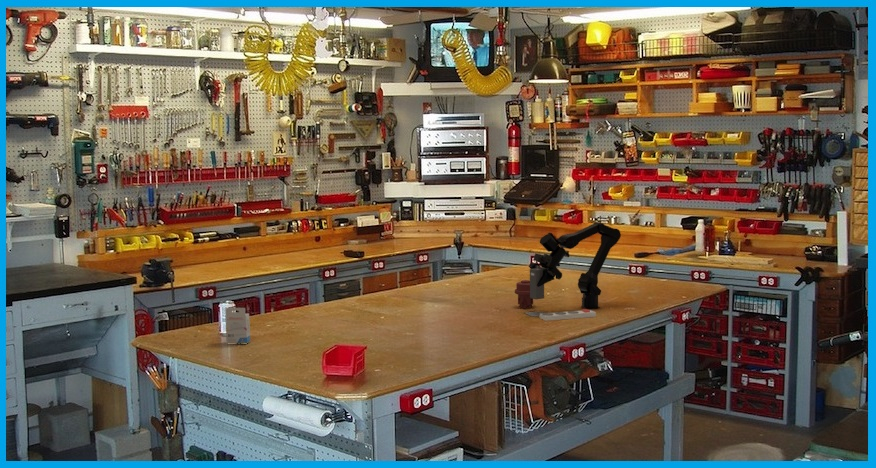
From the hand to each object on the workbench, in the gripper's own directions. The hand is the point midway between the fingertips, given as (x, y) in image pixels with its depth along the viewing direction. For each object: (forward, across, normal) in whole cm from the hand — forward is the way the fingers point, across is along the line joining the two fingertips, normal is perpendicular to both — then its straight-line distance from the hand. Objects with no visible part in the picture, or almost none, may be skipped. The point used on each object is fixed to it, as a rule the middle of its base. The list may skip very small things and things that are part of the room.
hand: (534, 285), depth 454 cm
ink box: (+101, -17, -83) cm, 132 cm away
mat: (+8, 0, +10) cm, 13 cm away
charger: (+3, 0, +5) cm, 6 cm away
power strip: (+3, +13, +16) cm, 20 cm away
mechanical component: (+5, -17, +14) cm, 23 cm away
